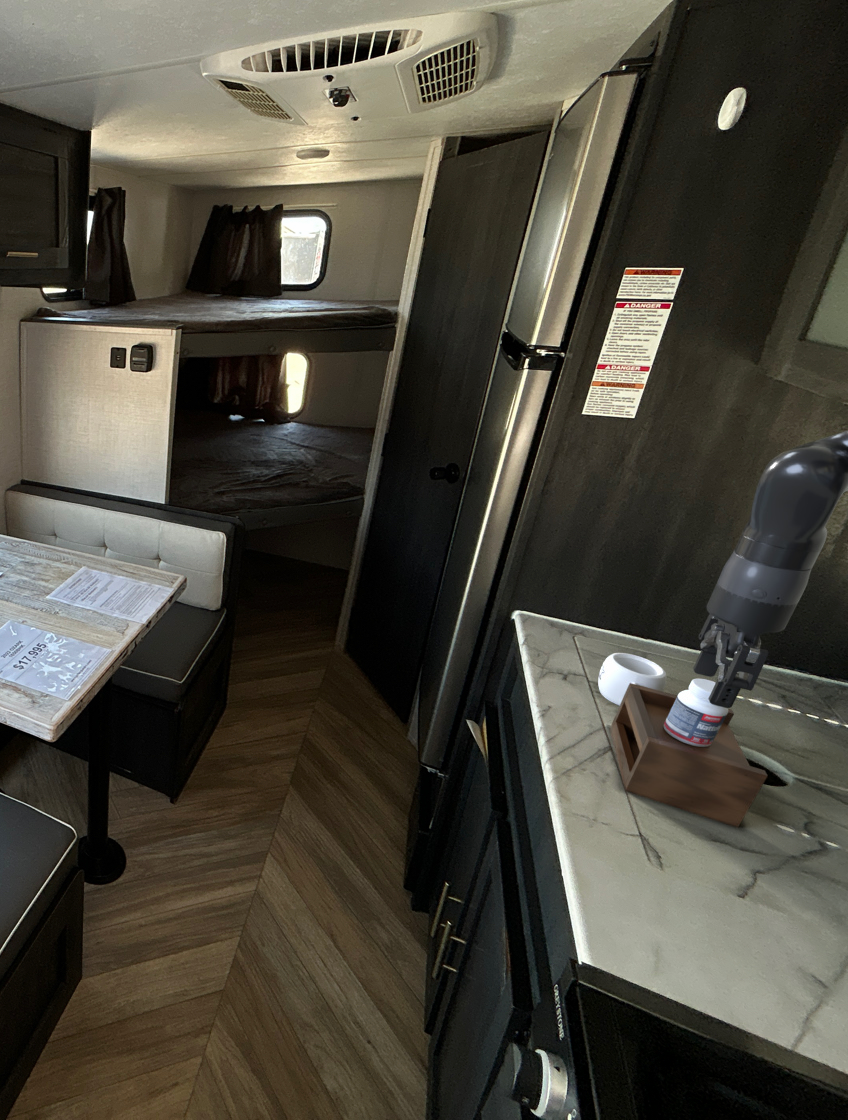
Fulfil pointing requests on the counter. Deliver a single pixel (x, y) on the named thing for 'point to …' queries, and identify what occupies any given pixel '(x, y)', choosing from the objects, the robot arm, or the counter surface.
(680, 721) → the pill bottle
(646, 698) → the box
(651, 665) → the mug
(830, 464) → the robot arm
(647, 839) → the counter surface
